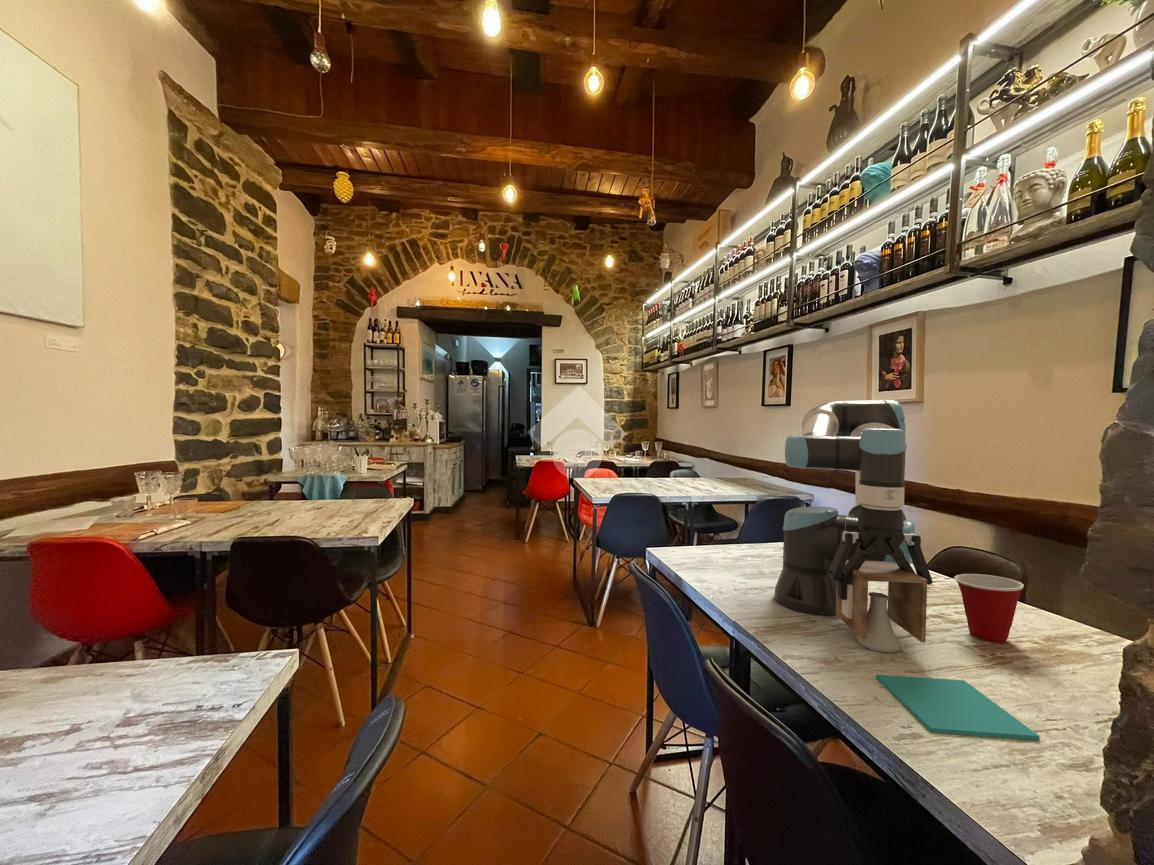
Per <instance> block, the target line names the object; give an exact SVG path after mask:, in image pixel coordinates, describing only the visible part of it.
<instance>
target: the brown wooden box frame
mask: <svg viewBox="0 0 1154 865" xmlns="http://www.w3.org/2000/svg"><path fill="white" fill-rule="evenodd" d="M848 561H849V560H847V561H846V564H847V562H848ZM846 564H845V565H846ZM915 573H916V572H915ZM915 573H913V572H906V571H904V570H902V569H901V568H899V566H898V565H897V564H896V563H894V562H889V561H865V562H864V563H863V564H862V566H861V567H860V569H859V570H853V578H852V579H851V581H850V582H849V583H850V584H851V585H853V600H852V618H847V617H846V616H845V615H844V614H843V613H842V599H840V598H839V597H838V581H836V614H835V616H836V617H838V618H839V619H840V620H841V621H842V622H844V624H846V625H847V627H849V628H850V629H851V630H852V631H853V632H854V633H855V634H856V635H857V634H858V635H859V636H860V637H861V638H862V639H867V613H868V602H869V601H868V600H869V582H883V583H888V584H887V589H888V590H887V596H888V597H889V600H887V611H888V617H889V620H890V621H892V622H894V623H895V624H896V625H898V626H899V627H901V628H902V629H903V630H904V631H906V632H907V633H909V634H910V635H911V636H912V637H913V638H915V640H918V641H919V642H920V643H927V642H926V638H927V636H926V635H927V634H926V633H927V606H928V605H927V604H928V603H927V602H928V601H927V600H928V584H927V579H925V578H923V577H921V576H919V575H917V574H915Z"/></svg>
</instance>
